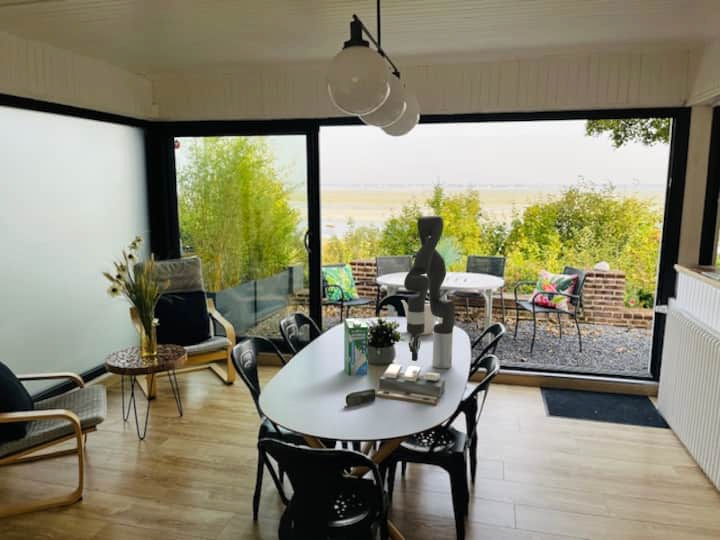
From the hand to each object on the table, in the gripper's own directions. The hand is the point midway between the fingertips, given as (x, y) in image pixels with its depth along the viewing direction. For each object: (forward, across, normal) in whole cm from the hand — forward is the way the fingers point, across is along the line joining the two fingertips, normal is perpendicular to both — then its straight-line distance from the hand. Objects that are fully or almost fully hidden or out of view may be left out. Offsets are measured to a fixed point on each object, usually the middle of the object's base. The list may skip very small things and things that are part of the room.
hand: (414, 360), depth 220 cm
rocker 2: (+6, +4, 0) cm, 7 cm away
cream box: (+6, +4, +9) cm, 11 cm away
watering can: (+12, -88, -20) cm, 91 cm away
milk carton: (+13, -9, -31) cm, 34 cm away
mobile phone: (+13, +24, -16) cm, 32 cm away
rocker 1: (+6, +4, -8) cm, 11 cm away
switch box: (+12, +7, 0) cm, 14 cm away
